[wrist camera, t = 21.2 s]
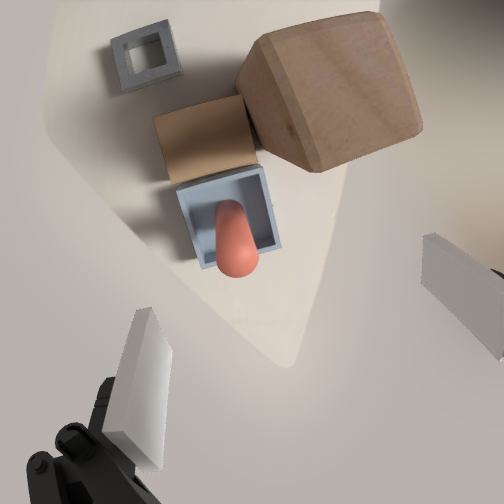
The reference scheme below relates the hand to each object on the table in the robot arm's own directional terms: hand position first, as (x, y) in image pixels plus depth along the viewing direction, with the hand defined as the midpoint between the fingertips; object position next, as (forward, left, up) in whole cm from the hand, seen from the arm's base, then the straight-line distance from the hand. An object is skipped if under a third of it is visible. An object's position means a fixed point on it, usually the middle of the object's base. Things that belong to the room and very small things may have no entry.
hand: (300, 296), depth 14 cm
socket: (-19, -7, -27) cm, 34 cm away
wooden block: (-9, +7, -27) cm, 30 cm away
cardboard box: (-7, -3, -28) cm, 29 cm away
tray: (+3, -3, -27) cm, 28 cm away
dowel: (+3, -3, -27) cm, 27 cm away
